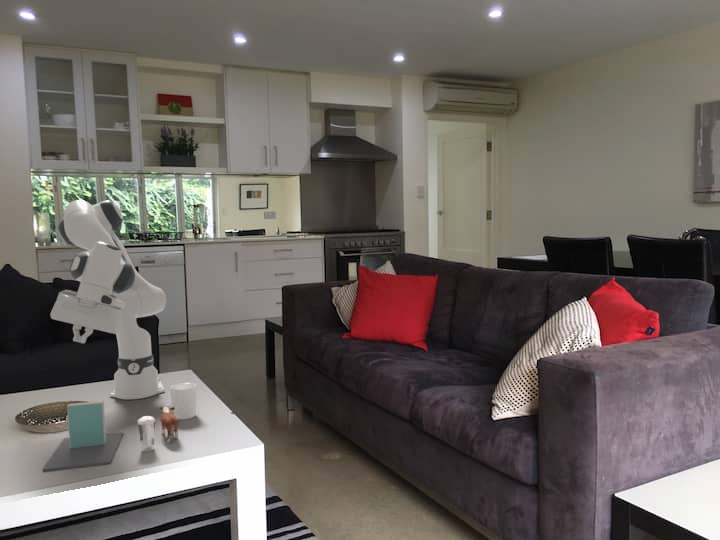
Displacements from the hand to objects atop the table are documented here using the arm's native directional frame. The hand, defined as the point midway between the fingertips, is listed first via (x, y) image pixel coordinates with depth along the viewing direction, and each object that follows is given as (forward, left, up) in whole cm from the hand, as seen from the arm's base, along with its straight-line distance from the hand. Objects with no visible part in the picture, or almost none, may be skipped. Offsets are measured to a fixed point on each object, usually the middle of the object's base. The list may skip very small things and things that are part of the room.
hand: (78, 342), depth 167 cm
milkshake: (+16, +19, -28) cm, 37 cm away
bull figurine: (+7, +24, -28) cm, 38 cm away
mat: (+12, +3, -28) cm, 31 cm away
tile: (+9, +3, -28) cm, 29 cm away
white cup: (-10, +28, -28) cm, 41 cm away
